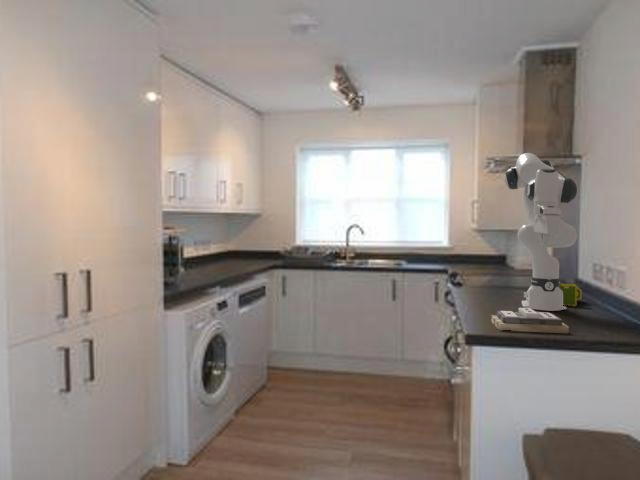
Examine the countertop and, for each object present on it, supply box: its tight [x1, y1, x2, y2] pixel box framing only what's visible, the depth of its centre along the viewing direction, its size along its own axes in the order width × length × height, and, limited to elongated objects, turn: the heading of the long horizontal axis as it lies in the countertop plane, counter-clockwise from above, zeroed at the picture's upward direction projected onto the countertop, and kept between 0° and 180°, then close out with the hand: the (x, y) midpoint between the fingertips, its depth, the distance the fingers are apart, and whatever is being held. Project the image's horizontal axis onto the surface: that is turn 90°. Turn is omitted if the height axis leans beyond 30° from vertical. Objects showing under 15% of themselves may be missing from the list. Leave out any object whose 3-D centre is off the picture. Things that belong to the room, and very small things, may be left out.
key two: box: [517, 307, 538, 319], centre depth 188 cm, size 11×4×2 cm, turn 171°
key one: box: [499, 310, 518, 318], centre depth 189 cm, size 11×4×2 cm, turn 171°
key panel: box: [490, 310, 570, 334], centre depth 188 cm, size 16×24×4 cm, turn 81°
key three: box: [536, 311, 559, 319], centre depth 187 cm, size 11×4×2 cm, turn 171°
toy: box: [559, 283, 583, 307], centre depth 249 cm, size 17×10×30 cm
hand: (544, 244), depth 195 cm, fingers closed
